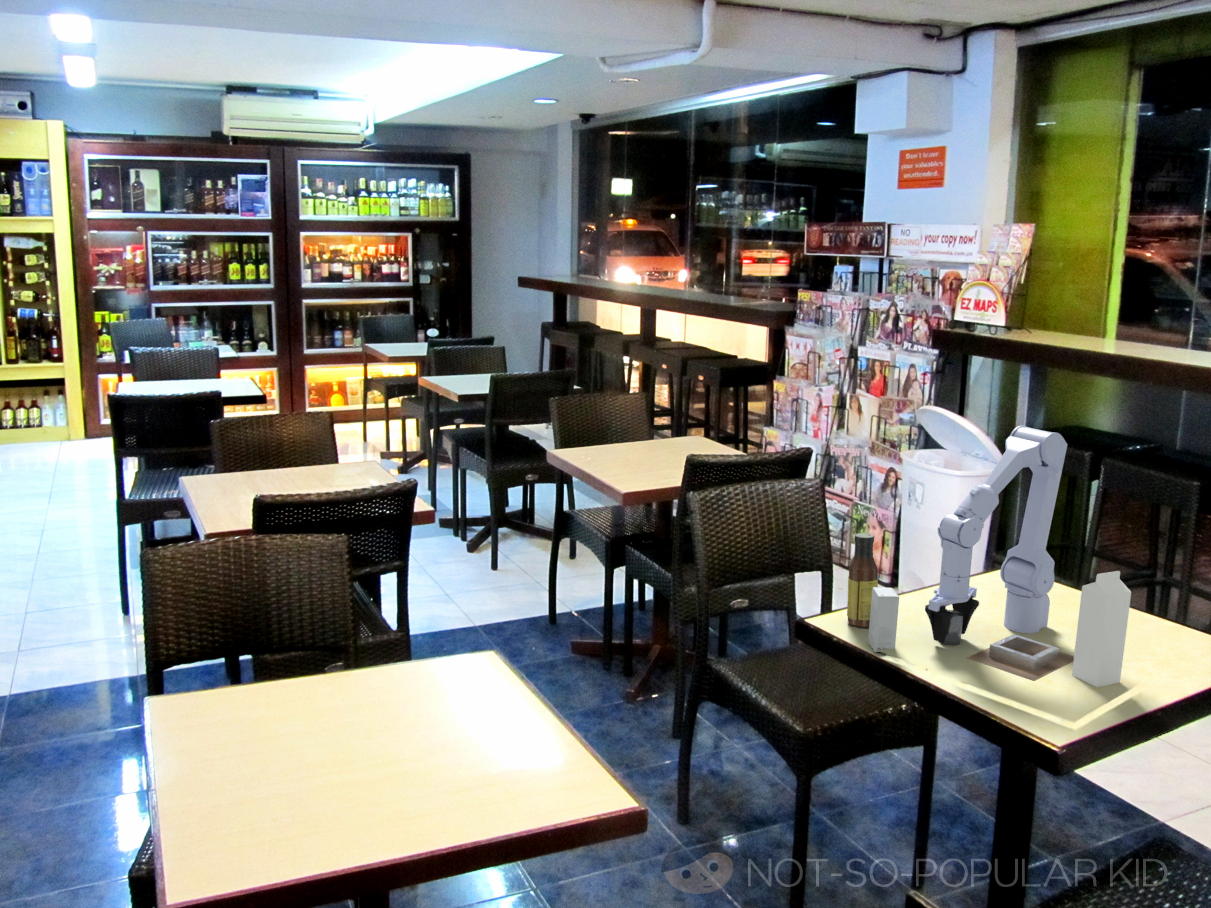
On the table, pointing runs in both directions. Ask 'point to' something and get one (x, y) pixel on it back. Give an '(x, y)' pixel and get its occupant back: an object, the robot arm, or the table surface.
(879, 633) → the skincare box
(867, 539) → the sauce bottle
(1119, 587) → the milk
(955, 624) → the cylinder
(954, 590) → the robot arm
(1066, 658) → the walnut base plate
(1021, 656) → the square metal frame
